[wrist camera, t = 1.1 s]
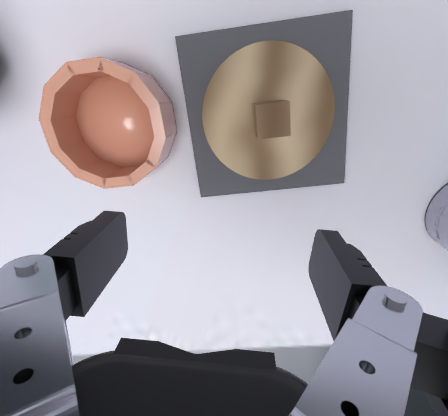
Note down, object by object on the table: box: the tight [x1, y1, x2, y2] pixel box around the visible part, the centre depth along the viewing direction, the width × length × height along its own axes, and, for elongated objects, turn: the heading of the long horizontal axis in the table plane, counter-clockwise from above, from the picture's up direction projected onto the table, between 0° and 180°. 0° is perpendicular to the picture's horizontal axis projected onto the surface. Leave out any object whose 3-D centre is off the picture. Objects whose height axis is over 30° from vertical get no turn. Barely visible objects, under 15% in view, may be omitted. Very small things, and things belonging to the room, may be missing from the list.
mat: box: [175, 10, 353, 197], centre depth 28 cm, size 16×16×1 cm
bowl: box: [39, 57, 177, 188], centre depth 27 cm, size 11×11×5 cm
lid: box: [202, 40, 335, 180], centre depth 25 cm, size 13×13×5 cm
